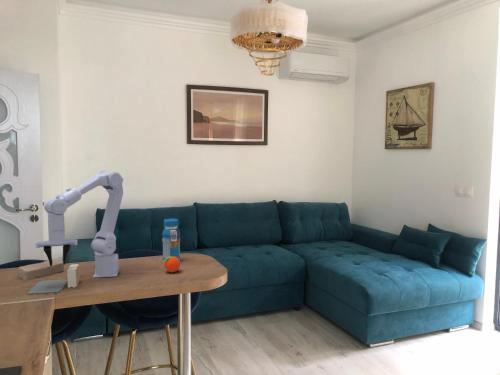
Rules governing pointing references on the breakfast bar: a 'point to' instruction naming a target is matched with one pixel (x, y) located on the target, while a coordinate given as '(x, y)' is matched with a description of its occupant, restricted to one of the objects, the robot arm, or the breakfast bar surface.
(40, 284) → the mat
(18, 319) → the breakfast bar surface
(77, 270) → the slab
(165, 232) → the beverage bottle
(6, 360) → the breakfast bar surface
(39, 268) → the brick
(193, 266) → the breakfast bar surface
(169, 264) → the clementine
